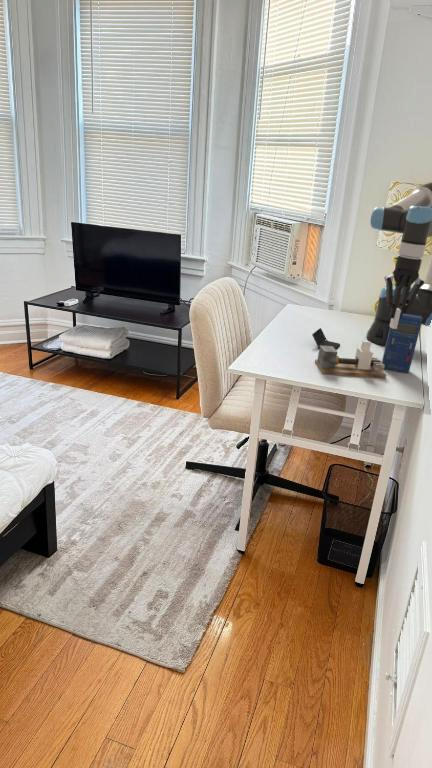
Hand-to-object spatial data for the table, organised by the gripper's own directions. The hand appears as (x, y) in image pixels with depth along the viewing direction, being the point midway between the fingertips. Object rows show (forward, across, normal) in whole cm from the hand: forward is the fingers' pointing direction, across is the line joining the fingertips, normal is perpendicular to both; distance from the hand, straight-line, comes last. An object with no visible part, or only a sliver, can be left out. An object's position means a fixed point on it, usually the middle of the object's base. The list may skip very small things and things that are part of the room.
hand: (392, 327), depth 177 cm
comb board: (+17, +12, 0) cm, 20 cm away
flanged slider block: (+15, +8, 0) cm, 17 cm away
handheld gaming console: (+17, +14, -25) cm, 33 cm away
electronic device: (+17, -6, -4) cm, 18 cm away
